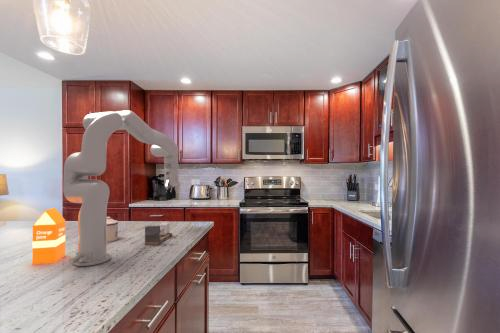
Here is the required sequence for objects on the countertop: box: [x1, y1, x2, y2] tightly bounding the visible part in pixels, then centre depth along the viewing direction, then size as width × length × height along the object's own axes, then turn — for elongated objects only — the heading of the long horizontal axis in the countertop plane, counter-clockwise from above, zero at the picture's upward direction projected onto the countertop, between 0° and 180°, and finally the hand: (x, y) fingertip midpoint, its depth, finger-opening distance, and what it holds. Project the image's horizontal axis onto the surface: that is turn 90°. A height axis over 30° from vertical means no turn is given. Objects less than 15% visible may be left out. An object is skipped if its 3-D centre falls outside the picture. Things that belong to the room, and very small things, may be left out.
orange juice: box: [31, 207, 66, 265], centre depth 103 cm, size 8×9×20 cm
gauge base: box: [144, 225, 173, 246], centre depth 131 cm, size 18×6×8 cm, turn 175°
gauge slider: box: [158, 221, 171, 235], centre depth 135 cm, size 6×6×6 cm
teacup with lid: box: [106, 216, 119, 243], centre depth 133 cm, size 12×9×12 cm
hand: (171, 198), depth 146 cm, fingers open, 4 cm apart
